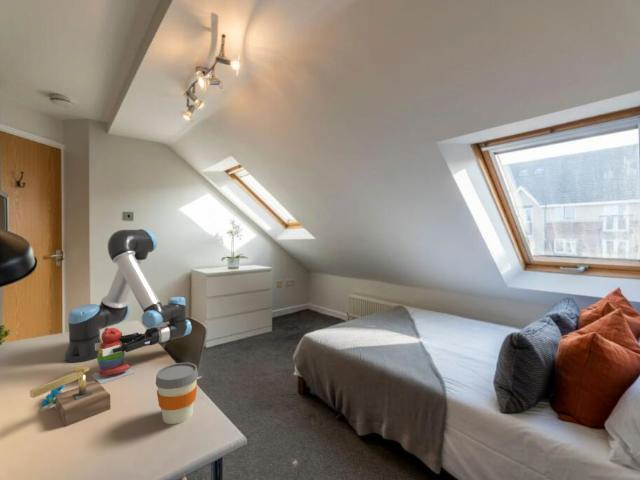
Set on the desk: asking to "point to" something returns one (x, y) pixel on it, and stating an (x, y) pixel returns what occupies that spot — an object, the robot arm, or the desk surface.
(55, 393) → the gear
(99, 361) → the stacking bear
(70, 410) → the lock block
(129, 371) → the mat
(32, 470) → the desk surface
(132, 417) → the desk surface
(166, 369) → the reusable coffee cup
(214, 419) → the desk surface
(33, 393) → the gold piece
